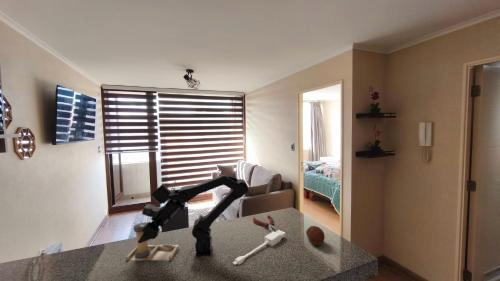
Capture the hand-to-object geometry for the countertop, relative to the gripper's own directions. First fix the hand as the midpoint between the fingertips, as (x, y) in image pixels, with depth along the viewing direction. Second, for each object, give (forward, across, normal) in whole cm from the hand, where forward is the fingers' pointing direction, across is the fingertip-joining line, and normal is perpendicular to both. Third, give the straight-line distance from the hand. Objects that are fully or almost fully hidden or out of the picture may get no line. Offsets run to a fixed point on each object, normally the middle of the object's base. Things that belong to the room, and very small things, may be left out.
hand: (142, 237), depth 95 cm
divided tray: (+3, 0, +9) cm, 10 cm away
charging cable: (-30, +2, +43) cm, 53 cm away
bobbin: (+6, 0, +6) cm, 8 cm away
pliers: (-35, -21, +48) cm, 63 cm away
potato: (-50, 0, +62) cm, 79 cm away
